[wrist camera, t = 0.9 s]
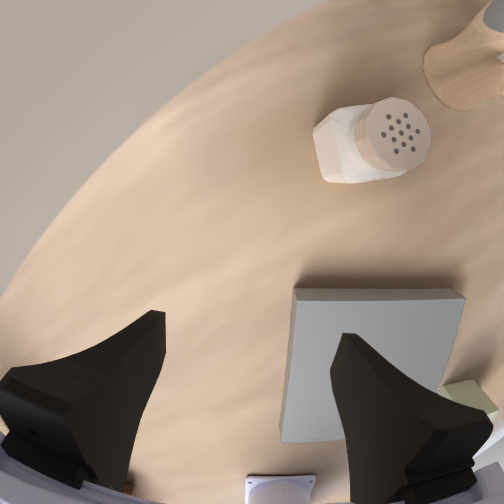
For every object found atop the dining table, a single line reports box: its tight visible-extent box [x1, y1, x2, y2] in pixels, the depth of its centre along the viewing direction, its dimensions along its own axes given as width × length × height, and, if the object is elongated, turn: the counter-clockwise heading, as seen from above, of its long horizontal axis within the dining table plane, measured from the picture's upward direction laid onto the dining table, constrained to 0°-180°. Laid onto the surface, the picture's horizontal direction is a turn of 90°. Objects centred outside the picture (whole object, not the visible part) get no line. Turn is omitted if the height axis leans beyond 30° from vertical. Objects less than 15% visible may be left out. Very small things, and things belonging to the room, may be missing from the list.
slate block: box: [279, 288, 466, 443], centre depth 23 cm, size 14×14×3 cm
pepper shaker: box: [312, 97, 431, 184], centre depth 15 cm, size 4×4×10 cm
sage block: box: [439, 379, 499, 422], centre depth 22 cm, size 4×4×6 cm
